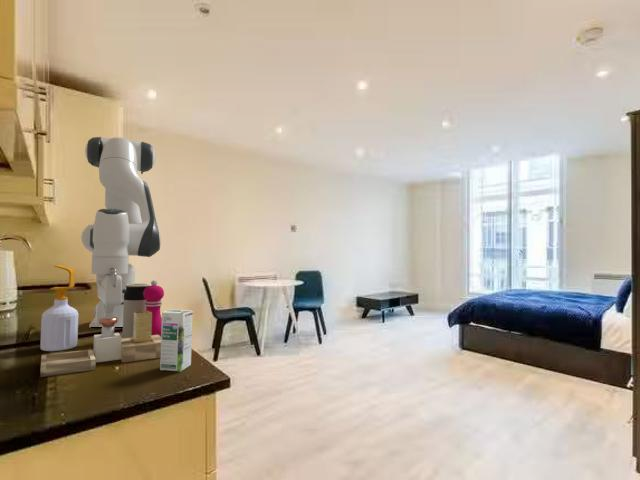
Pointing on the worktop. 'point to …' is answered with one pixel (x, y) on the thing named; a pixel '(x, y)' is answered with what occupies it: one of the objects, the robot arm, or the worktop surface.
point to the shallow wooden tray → (67, 362)
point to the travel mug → (132, 306)
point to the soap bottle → (60, 320)
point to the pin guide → (107, 348)
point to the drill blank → (142, 326)
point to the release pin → (107, 326)
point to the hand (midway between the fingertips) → (108, 318)
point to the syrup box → (176, 340)
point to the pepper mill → (154, 306)
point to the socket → (140, 349)
